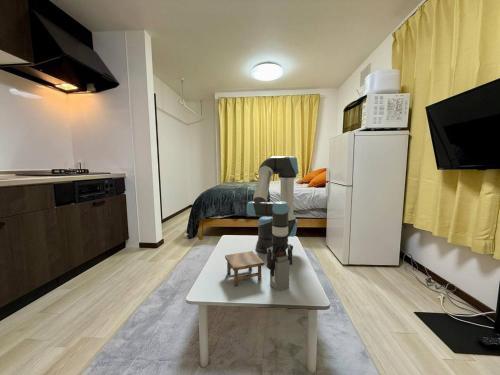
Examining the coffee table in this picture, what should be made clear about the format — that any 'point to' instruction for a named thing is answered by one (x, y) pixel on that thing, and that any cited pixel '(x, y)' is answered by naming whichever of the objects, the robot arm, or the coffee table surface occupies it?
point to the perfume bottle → (281, 272)
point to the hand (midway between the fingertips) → (279, 280)
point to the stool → (243, 264)
